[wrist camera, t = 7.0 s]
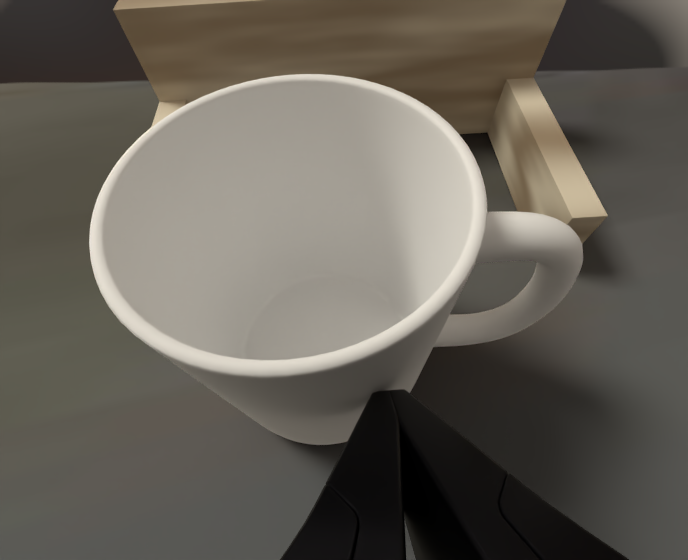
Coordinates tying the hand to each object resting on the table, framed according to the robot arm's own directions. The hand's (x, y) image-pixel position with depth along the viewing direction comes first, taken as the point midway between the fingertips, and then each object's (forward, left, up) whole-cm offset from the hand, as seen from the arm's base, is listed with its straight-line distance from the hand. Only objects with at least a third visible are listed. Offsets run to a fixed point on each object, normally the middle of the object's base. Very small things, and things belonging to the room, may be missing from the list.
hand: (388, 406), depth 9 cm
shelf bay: (+10, -8, -7) cm, 15 cm away
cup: (+3, -2, -7) cm, 8 cm away
